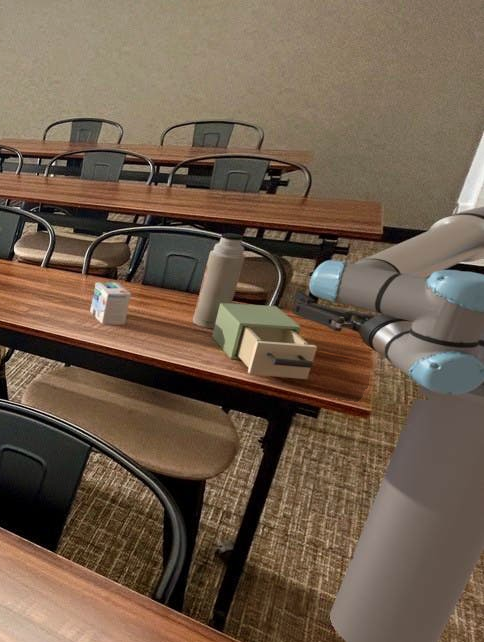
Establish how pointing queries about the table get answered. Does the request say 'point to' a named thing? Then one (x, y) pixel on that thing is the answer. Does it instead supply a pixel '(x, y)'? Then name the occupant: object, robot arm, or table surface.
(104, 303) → the light bulb box
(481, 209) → the robot arm
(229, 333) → the cabinet
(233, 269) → the thermos bottle
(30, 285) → the table surface
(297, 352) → the drawer
